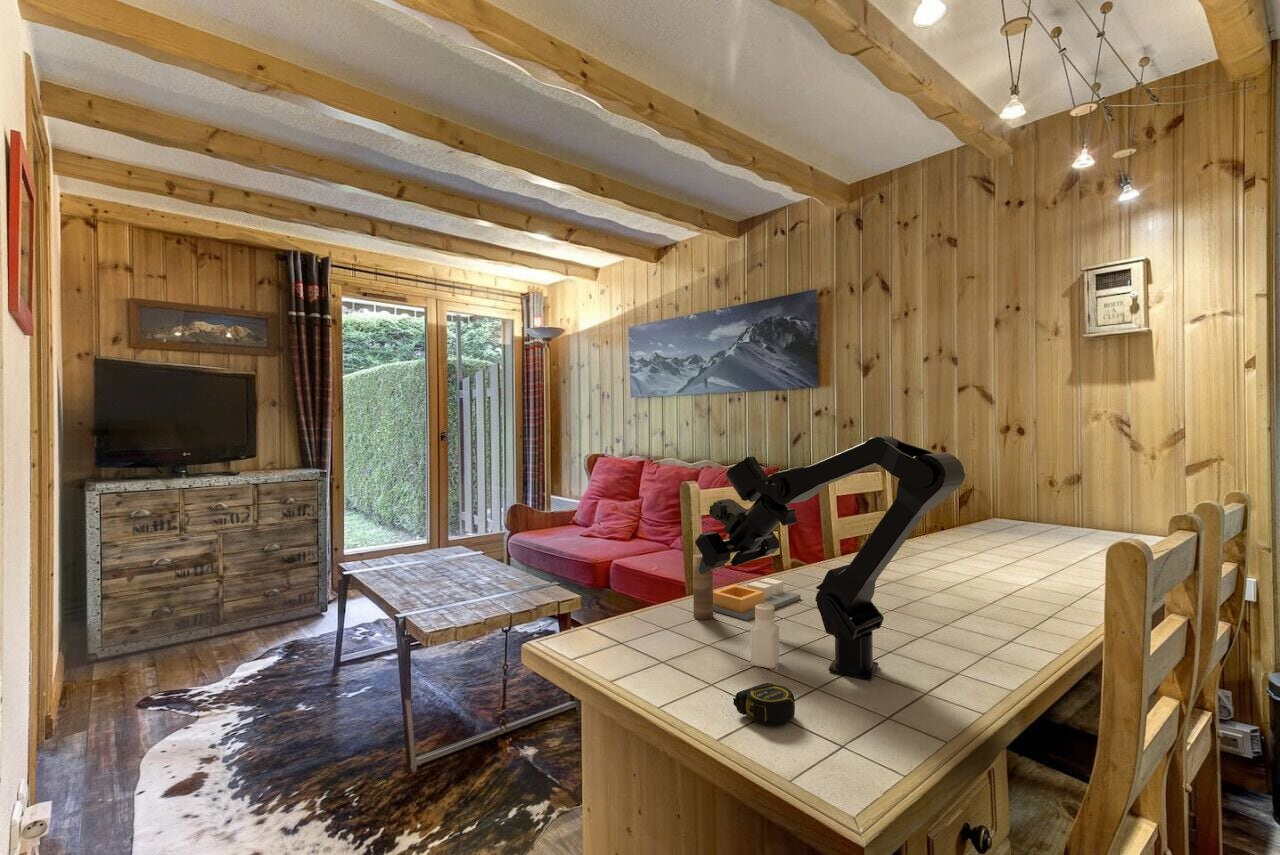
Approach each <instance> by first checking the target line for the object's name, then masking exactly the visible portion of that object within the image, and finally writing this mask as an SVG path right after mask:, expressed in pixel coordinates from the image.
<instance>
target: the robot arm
mask: <svg viewBox="0 0 1280 855" xmlns="http://www.w3.org/2000/svg"><path fill="white" fill-rule="evenodd" d="M877 466H880V467H881V468H883V470H885V471H887V473H889V474H891V476H893V477H895V478H898V481H897V485H896V492H895V499H894V501H893V503H892V504H891V505H890V507H889V508H888V510H887V511H886V512H885V514H884V515H883V517H882V518H881V519H880V521H879V522H878V523H877V525H876V527H875V528H874V529H873V530H872V532H871V533H870V535H869V536H868V537H867V539H866V540H865V542H864V544H863V545H862V546H861V547H860V550H859V551H858V552H857V553H856V555H855V556H854V558H853V560H851V562H850V563H849V564H846V565H842V566H838V567H836V568H831V569H829V570H828V571H827V573H825V575H824V576H825V577H824V579H823V581H822V582H821V583H820V584H819V585H817V586H815V588H816V590H818V591H817V593H816V595H815V602H816V606H817V609H818V611H819V613H820V617H821V620H822V621H821V622H822V623H823V627H824V630H825V633H826V634H828V635H831V636H832V637H833V638H834V660H833V661H832V662H831V663H830V665H829V666H828V671H829V672H831V673H835V674H840V675H845V676H850V677H854V678H859V679H864V680H872V679H873V678H874V676H875V674H876V672H877V669H878V668H879V662H878V661H874V660H873V659H874V657H873V656H874V655H873V653H874V652H873V650H874V648H873V644H874V643H873V642H874V641H873V640H874V639H873V636H874V635H873V631H875V630H878V629H881V627H882V625H883V622H884V615H883V614H882V613H881V611H879V609H878V608H877V607H876V605H875V604H874V603H873V601H872V599H873V597H874V595H875V589H876V582H877V580H878V578H879V576H880V575H881V574H882V573H883V572H884V570H885V569H886V567H887V566H888V565H889V564H890V563H891V561H892V560H893V558H894V557H895V556H896V554H897V553H898V551H899V550H900V549H901V548H902V546H903V545H904V544H905V542H906V540H907V539H908V538H909V537H910V536H911V533H912V532H913V531H914V530H915V528H916V527H917V526H918V524H920V522H921V520H922V519H923V518H924V516H925V515H926V514H928V512H930V511H931V510H932V509H935V507H937V506H938V505H940V504H941V503H942V502H944V501H945V500H947V498H949V497H950V496H951V495H952V494H953V493H955V491H957V490H958V489H959V488H960V487H961V486H962V485H963V482H965V481H964V480H965V478H966V474H965V469H964V466H963V464H962V462H961V460H959V459H958V458H957V457H956V456H954V455H953V454H951V453H947V452H937V453H934V452H933V451H931V450H928V449H925V448H921V447H919V446H917V445H916V446H915V445H912V444H909V443H907V442H904V441H901V440H899V439H896V437H893V436H889V435H883V436H882V435H880V436H873V437H870V438H868V439H867V440H866V441H864V442H862V443H859V444H857V445H855V446H853V447H851V448H848V449H845V450H843V451H841V452H838V453H836V454H834V455H832V456H830V457H827V458H825V459H822V460H820V461H818V462H815V463H813V464H811V465H806V466H801V467H795V468H789V469H784V470H779V471H775V472H774V473H772V474H770V476H768V475H767V473H766V472H765V471H764V468H762V467H761V466H760V464H759V462H758V460H757V459H756V457H755V456H754V455H753V456H746V457H745V458H744V460H741V461H740V462H737V463H736V464H734V465H733V466H732V467H730V468H728V470H727V471H726V474H725V477H726V479H727V481H728V482H729V483H730V485H731V486H732V488H733V489H734V490H735V492H736V493H737V495H738V496H739V498H740V499H741V501H744V502H746V501H749V502H751V503H753V504H752V505H751V506H750V507H749V508H748V509H746V508H745V507H743V506H742V505H741V504H739V503H738V502H737V501H736V500H734V499H732V498H727V499H726V498H725V499H720V500H716V501H714V502H713V503H712V505H710V506H709V511H708V514H709V516H710V517H711V518H713V520H715V521H716V522H720V523H721V524H723V525H724V527H723V531H724V532H725V534H726V535H727V534H728V539H729V540H725V541H724V540H723V538H722V536H721V535H720V534H719V532H716V531H709V532H704V533H700V534H699V535H698V537H697V538H696V539H695V540H694V541H695V542H694V543H695V546H696V548H698V550H699V552H700V554H702V559H701V563H700V566H699V572H700V574H704V573H707V572H710V571H712V570H713V571H714V570H717V569H720V568H722V567H725V566H726V564H728V562H729V561H730V560H731V561H730V564H731V566H732V567H737V566H739V565H742V564H746V563H749V562H751V561H755V560H759V559H761V558H763V557H767V556H769V555H771V554H775V553H776V552H777V550H778V549H780V540H779V539H778V537H777V536H776V534H775V533H774V529H775V528H776V527H777V526H779V525H780V524H781V525H782V526H785V527H786V526H790V525H795V524H797V522H798V521H797V515H796V509H794V508H791V507H789V505H788V504H794V503H795V504H796V503H801V502H802V503H803V502H806V501H808V500H809V499H812V497H814V496H817V495H818V494H819V493H820V492H821V491H822V490H823V489H824V488H826V487H827V486H829V485H831V484H833V483H835V482H837V481H840V480H844V479H846V478H848V477H850V476H851V477H852V476H853V475H856V474H858V473H861V472H863V471H866V470H868V469H871V468H874V467H877ZM731 554H734V556H733V557H732V559H731Z"/></svg>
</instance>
